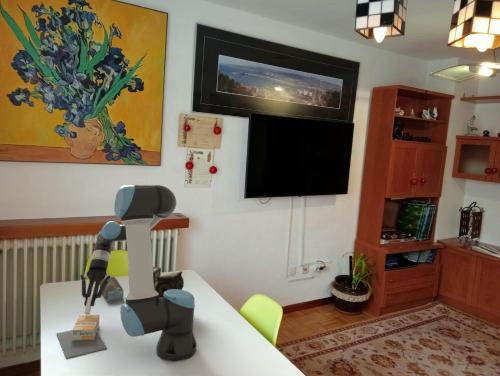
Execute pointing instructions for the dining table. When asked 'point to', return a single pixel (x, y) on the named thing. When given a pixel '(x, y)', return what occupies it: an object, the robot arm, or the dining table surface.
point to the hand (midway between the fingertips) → (86, 313)
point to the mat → (79, 345)
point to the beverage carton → (113, 290)
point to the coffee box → (156, 275)
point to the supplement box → (85, 327)
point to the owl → (169, 282)
